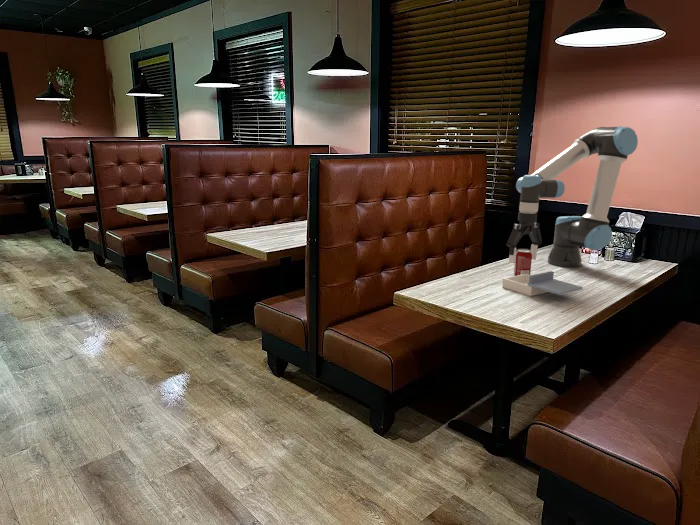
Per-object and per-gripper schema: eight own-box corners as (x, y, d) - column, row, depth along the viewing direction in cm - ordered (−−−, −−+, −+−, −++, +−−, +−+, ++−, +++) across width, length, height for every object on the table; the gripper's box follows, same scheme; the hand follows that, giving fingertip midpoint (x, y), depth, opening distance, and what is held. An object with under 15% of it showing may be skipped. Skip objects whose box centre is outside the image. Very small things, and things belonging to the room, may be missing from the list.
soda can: (530, 279, 214) (533, 252, 211) (514, 278, 215) (517, 251, 212) (528, 275, 220) (531, 249, 217) (512, 274, 222) (515, 248, 219)
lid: (550, 280, 200) (551, 270, 199) (582, 289, 188) (583, 279, 187) (527, 285, 192) (528, 275, 191) (558, 294, 181) (560, 284, 180)
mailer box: (525, 282, 210) (526, 273, 210) (553, 290, 199) (554, 282, 198) (502, 286, 203) (503, 278, 202) (530, 296, 192) (531, 287, 191)
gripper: (539, 209, 220) (534, 256, 225) (500, 212, 207) (495, 261, 213) (554, 211, 214) (548, 259, 219) (515, 214, 201) (509, 265, 206)
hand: (522, 260), depth 216 cm, fingers open, 13 cm apart
